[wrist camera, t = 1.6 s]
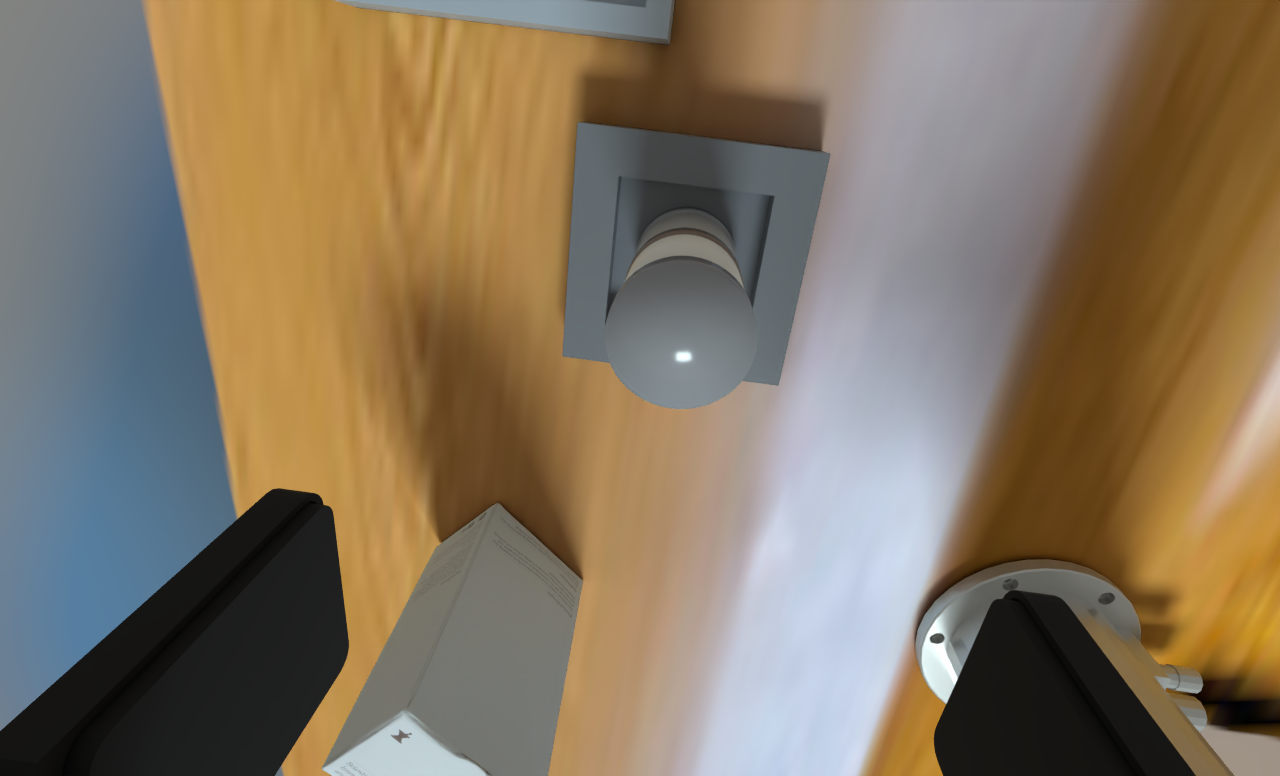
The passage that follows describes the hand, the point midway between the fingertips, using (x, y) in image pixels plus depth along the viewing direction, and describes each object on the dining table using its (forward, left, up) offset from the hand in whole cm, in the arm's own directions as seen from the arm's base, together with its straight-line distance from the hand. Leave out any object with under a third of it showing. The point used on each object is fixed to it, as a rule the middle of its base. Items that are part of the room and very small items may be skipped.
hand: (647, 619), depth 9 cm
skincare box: (+8, +21, -24) cm, 33 cm away
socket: (0, +1, -24) cm, 24 cm away
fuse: (0, 0, -24) cm, 24 cm away
